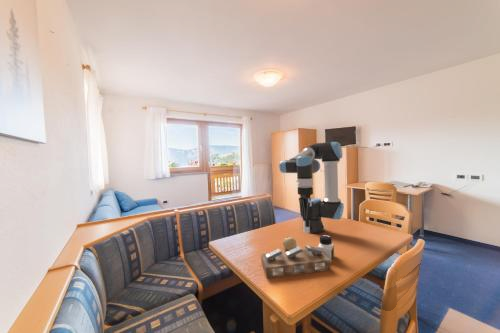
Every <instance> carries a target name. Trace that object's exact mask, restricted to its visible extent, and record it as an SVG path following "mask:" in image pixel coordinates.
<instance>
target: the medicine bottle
mask: <svg viewBox="0 0 500 333" xmlns="http://www.w3.org/2000/svg"><path fill="white" fill-rule="evenodd" d="M332 240H333V239H332V237H331V236H330V235H324V234H323V235H320V236H319V243H318V245H317V248H318V249H320V250H321V251H322V252H323V253H324V254H325V255H326V256H327V257H328V258H329V259H330V263H332V262H333V260H334V259H335V258H334V257H335V245H334V243H333V242H332Z"/></svg>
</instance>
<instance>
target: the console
mask: <svg viewBox="0 0 500 333" xmlns="http://www.w3.org/2000/svg"><path fill="white" fill-rule="evenodd" d="M287 251H288V250H287ZM287 251H282V254H281V255H279V256H277V257H275V258H273V259H271V260H269V261H268V260H267V257H266V254H267V253H262V254H260V259H261V266H262V269H263V272H264V274H265V277H266V279H269V278H279V277H284V276H285V277H286V276H294V275H301V274H302V275H303V274H309V273H317V272H323V271H324V272H325V271H331V262H330V259H329V258H328V257H327V256H326V255H325V254H324V253H323V252H322V254H317V253H313V252H309V251H307V250H306V249H305V248H304V249H302V251H303V252H301V253H299V254H297V255H295V256H292V257H290V258H288V257H287V255H286V252H287Z"/></svg>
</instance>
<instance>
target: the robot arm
mask: <svg viewBox="0 0 500 333" xmlns="http://www.w3.org/2000/svg"><path fill="white" fill-rule="evenodd" d="M342 158H343V149H342V146H341V144H340V142H338V141H328V142H326V141H325V142H316V143H313V144H310V145H308V146H306V147H304V148H303V149H302V151H301V152H299V153H297V154H296V155H294V156H293V157H290V158H289V159H288V160H287V159H285V160H280V162H279V164H278V166H279V167H278V168H279V171H280V173H282V174H296V175H297V176H296V178H297V179H296V183H297V194H298V196H299V195H300V197H298V203H299V208H300V217H301V219H302V225H303V226H302V230H303V233H304V234H308V233H309V234H321V233H324V232H325V227H324V223H323V221H322V218H323V219H331V220H336V221H337V220H341V219H342V217H343V214H344V207H345V206H344V203H343V202H342V201H341V199H340V198H339V180H338V179H339V176H338V175H339V174H338V164H339V163H340V161H341V159H342ZM319 160H321V162H322V164H323V167H324V170H323V171H324V198H323V199H321V198H318V197H317V198H316V197H314V198H312V197H311V195H313V194H314V187H313V186H314V179H313V174H316V173H317V172H318V171H320V169H321V163H320V161H319Z"/></svg>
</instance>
